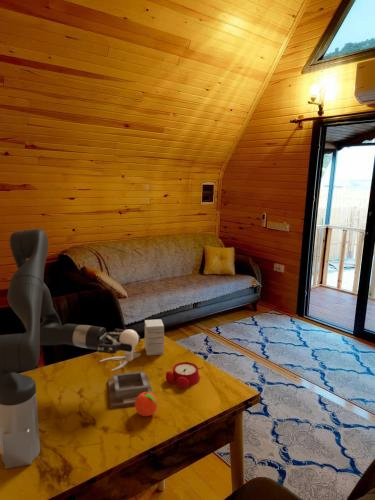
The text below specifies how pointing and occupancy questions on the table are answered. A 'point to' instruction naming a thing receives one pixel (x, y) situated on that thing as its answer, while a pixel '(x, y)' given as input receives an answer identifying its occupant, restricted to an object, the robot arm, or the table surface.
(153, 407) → the clementine
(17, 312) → the robot arm
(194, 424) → the table surface
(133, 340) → the lightbulb
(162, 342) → the supplement box
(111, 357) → the pliers
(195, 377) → the alarm clock
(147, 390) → the socket stand
